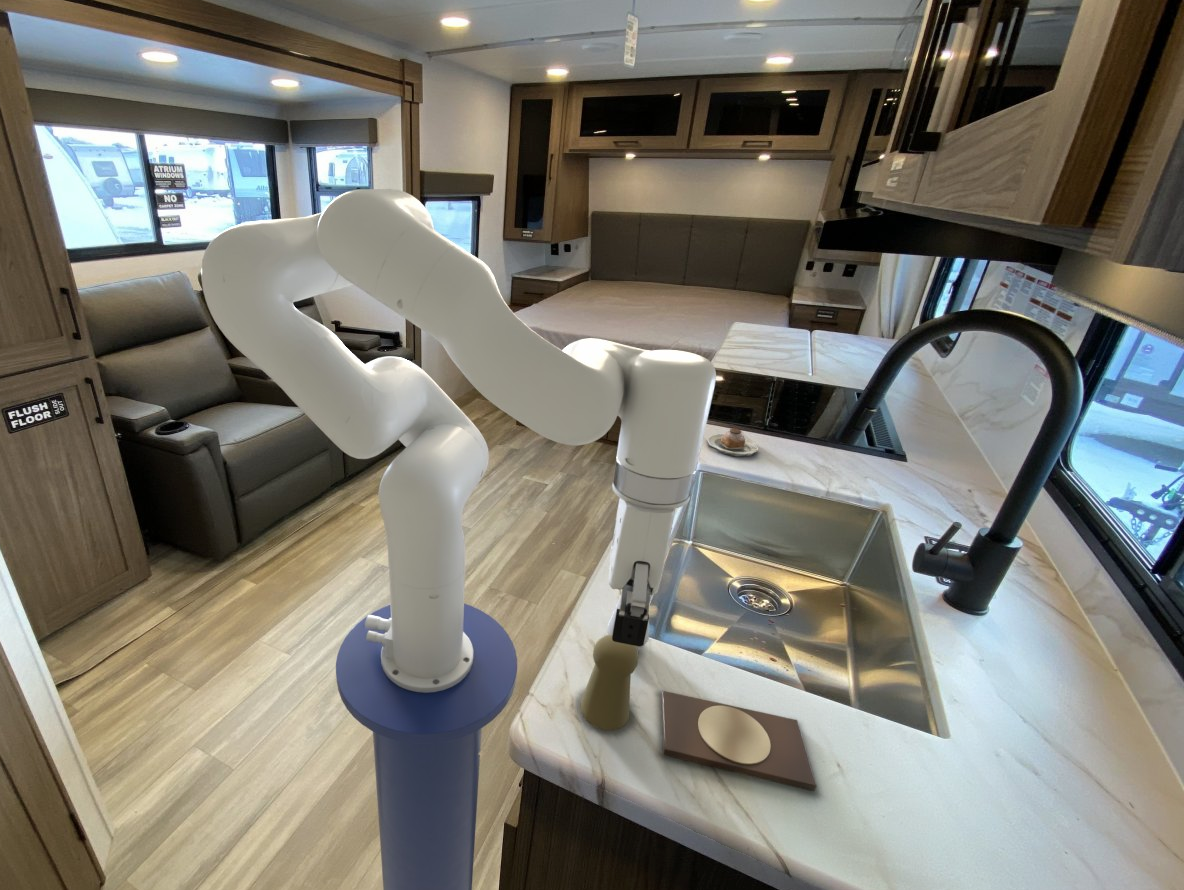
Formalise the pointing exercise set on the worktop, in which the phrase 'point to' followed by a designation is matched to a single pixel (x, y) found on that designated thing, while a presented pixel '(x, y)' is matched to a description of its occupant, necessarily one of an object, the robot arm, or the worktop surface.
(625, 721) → the pepper shaker
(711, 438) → the pastry
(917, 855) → the worktop surface
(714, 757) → the serving board
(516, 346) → the robot arm
